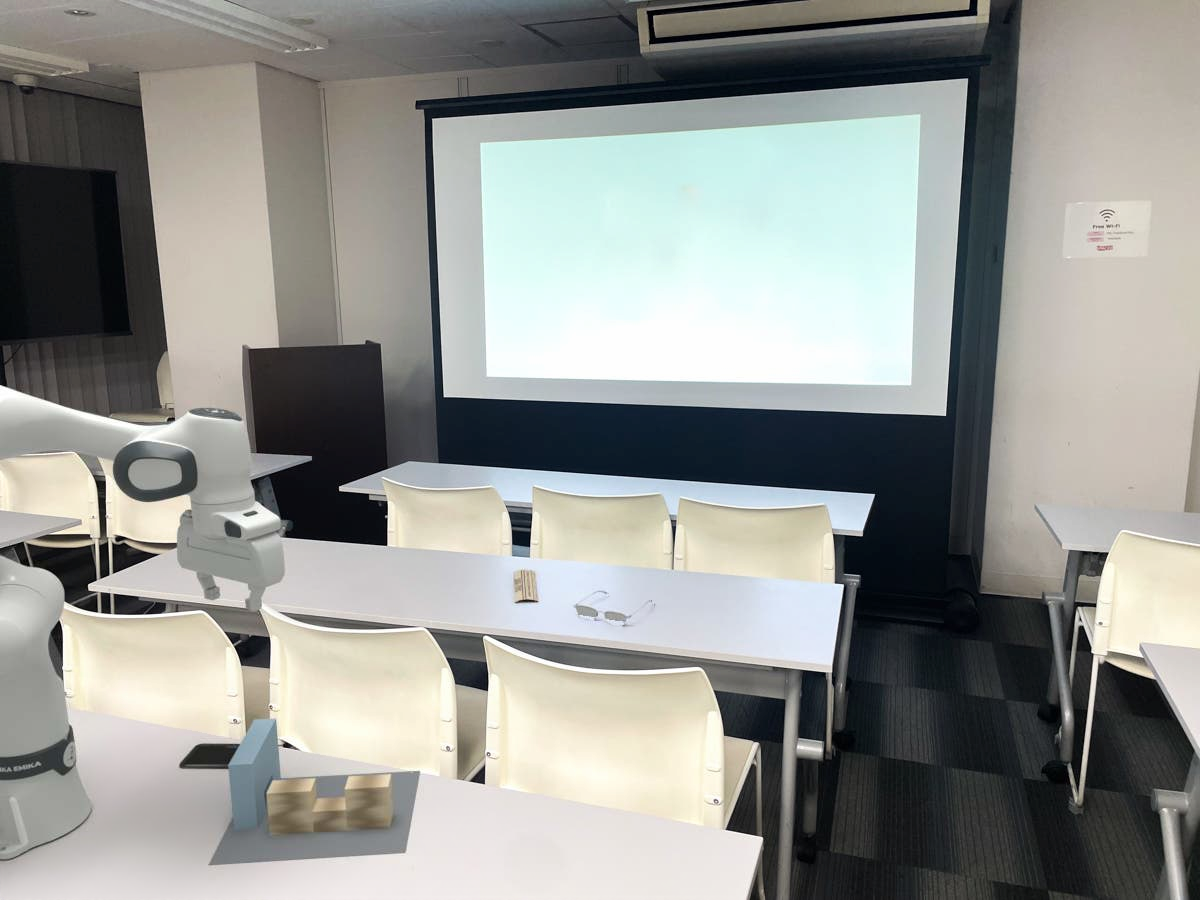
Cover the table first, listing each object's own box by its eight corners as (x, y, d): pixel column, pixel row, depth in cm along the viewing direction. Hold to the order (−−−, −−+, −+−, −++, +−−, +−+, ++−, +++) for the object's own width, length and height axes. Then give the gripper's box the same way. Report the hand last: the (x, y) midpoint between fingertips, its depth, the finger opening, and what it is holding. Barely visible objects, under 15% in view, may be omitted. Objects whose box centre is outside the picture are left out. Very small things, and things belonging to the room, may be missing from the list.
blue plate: (234, 830, 136) (228, 765, 134) (259, 779, 150) (254, 719, 147) (257, 829, 136) (252, 763, 134) (280, 778, 150) (276, 718, 148)
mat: (208, 867, 128) (208, 865, 128) (251, 782, 150) (251, 779, 149) (405, 855, 131) (405, 852, 131) (420, 772, 152) (420, 770, 152)
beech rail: (269, 835, 135) (266, 793, 133) (275, 821, 138) (272, 780, 137) (390, 827, 137) (388, 786, 135) (393, 814, 140) (391, 774, 139)
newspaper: (538, 605, 231) (538, 598, 231) (510, 606, 230) (510, 599, 230) (534, 575, 254) (534, 569, 254) (509, 576, 253) (509, 570, 253)
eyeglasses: (573, 618, 221) (572, 603, 220) (606, 596, 237) (606, 581, 236) (628, 630, 214) (628, 614, 213) (659, 606, 230) (659, 591, 229)
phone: (262, 767, 153) (176, 766, 153) (263, 773, 153) (177, 772, 153) (279, 743, 160) (197, 742, 161) (280, 749, 161) (198, 748, 161)
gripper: (161, 512, 135) (170, 598, 137) (253, 530, 125) (261, 623, 127) (197, 503, 140) (206, 586, 143) (288, 519, 130) (295, 608, 133)
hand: (233, 604), depth 135 cm, fingers open, 8 cm apart
